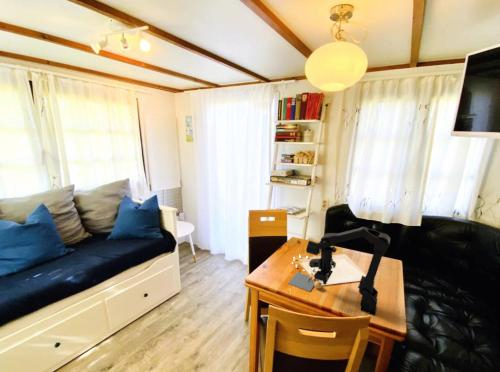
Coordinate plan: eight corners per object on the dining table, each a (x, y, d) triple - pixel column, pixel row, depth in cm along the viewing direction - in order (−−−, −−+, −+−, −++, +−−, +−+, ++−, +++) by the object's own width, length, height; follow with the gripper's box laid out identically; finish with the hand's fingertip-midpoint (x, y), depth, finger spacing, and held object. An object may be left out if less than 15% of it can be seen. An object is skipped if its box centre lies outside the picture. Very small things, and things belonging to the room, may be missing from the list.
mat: (318, 279, 139) (318, 278, 138) (309, 292, 127) (309, 291, 127) (297, 272, 146) (297, 271, 146) (288, 283, 134) (288, 282, 134)
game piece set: (325, 273, 146) (325, 267, 146) (293, 272, 147) (293, 266, 146) (317, 257, 165) (317, 252, 165) (289, 257, 166) (289, 252, 165)
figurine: (311, 287, 127) (304, 270, 138) (313, 294, 130) (305, 277, 141) (326, 283, 127) (317, 266, 138) (327, 290, 130) (318, 273, 141)
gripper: (317, 247, 135) (315, 271, 138) (305, 260, 120) (303, 287, 123) (337, 252, 129) (335, 277, 132) (327, 266, 114) (325, 295, 117)
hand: (324, 284), depth 126 cm, fingers closed
